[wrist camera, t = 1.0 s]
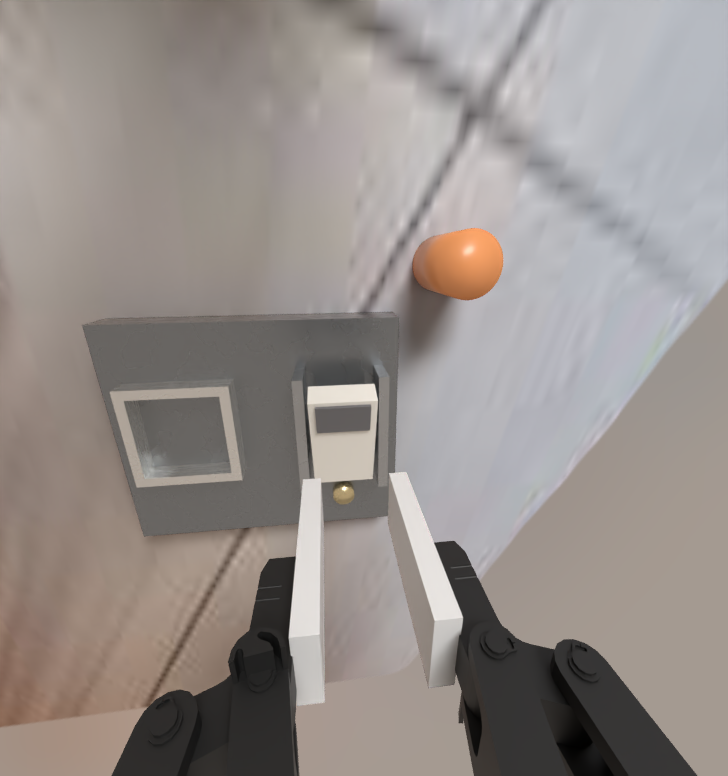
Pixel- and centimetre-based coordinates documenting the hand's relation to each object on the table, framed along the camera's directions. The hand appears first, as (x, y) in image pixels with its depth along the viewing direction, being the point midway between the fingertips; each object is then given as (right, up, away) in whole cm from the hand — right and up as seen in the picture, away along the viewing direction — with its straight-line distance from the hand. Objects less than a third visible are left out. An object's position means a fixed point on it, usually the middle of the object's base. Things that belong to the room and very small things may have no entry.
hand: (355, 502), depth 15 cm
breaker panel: (-9, +2, +18) cm, 20 cm away
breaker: (-1, +1, +13) cm, 13 cm away
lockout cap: (+7, +16, +15) cm, 23 cm away
